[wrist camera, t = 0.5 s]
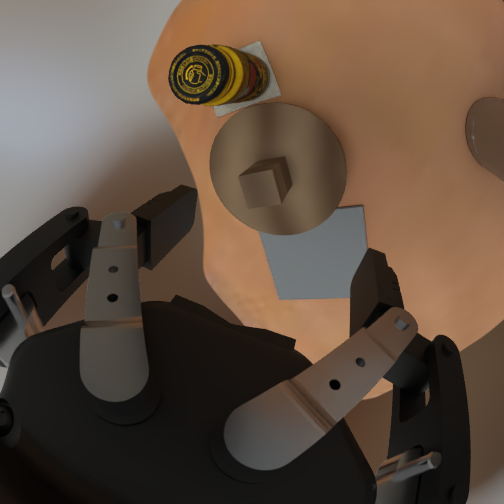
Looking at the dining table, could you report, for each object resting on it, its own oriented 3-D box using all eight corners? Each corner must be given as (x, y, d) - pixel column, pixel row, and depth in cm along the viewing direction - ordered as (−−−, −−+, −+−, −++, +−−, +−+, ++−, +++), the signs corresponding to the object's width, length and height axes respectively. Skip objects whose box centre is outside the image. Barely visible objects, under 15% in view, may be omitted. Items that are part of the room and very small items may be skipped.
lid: (329, 89, 21) (324, 87, 16) (355, 223, 27) (355, 256, 22) (198, 123, 26) (165, 133, 22) (236, 235, 33) (214, 265, 28)
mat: (362, 204, 31) (362, 206, 30) (369, 293, 37) (369, 296, 37) (256, 217, 36) (255, 219, 36) (280, 297, 43) (279, 299, 42)
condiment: (282, 94, 27) (246, 96, 17) (217, 117, 30) (160, 134, 21) (260, 40, 24) (214, 17, 14) (198, 67, 27) (133, 66, 18)
